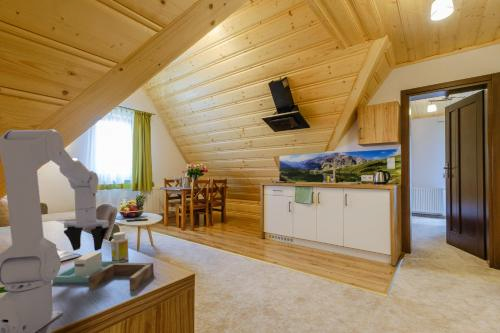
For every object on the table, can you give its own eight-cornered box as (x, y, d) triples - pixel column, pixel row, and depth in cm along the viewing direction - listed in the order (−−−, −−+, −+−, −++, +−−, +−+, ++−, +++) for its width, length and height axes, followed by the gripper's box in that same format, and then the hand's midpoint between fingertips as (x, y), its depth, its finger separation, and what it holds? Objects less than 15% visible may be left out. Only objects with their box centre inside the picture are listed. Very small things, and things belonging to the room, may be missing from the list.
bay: (134, 290, 70) (134, 277, 70) (88, 289, 71) (88, 277, 71) (153, 274, 80) (153, 263, 80) (113, 273, 82) (112, 262, 82)
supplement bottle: (130, 257, 96) (129, 230, 96) (125, 262, 91) (123, 234, 91) (115, 258, 96) (114, 231, 96) (108, 264, 90) (107, 235, 90)
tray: (91, 284, 75) (91, 277, 75) (52, 283, 76) (52, 277, 76) (119, 266, 87) (119, 260, 87) (85, 266, 89) (85, 260, 89)
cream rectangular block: (84, 278, 78) (83, 260, 78) (73, 278, 78) (72, 260, 78) (102, 268, 85) (101, 251, 85) (91, 267, 86) (90, 251, 86)
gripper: (114, 205, 85) (115, 245, 85) (75, 206, 87) (77, 245, 86) (99, 209, 78) (101, 252, 78) (57, 210, 80) (59, 252, 79)
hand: (87, 249), depth 82 cm, fingers open, 7 cm apart
